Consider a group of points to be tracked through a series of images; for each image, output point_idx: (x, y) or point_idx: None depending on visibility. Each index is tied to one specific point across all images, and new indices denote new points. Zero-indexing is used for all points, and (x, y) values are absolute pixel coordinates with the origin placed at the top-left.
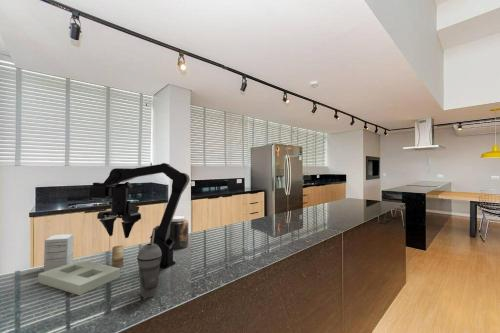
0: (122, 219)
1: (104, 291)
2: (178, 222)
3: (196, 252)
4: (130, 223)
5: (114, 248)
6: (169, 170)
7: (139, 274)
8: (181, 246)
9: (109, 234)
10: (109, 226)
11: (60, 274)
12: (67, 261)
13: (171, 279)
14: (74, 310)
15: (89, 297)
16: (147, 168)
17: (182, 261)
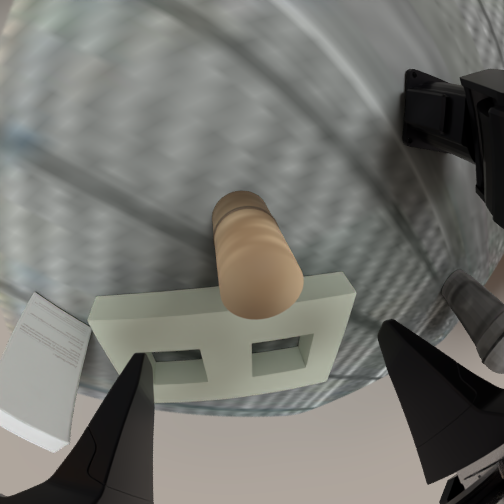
0: (445, 496)
1: (361, 330)
2: None
3: None
4: (481, 423)
5: (269, 316)
6: None
7: (466, 330)
8: None
9: (153, 388)
10: (140, 468)
11: (199, 390)
12: (81, 351)
13: (478, 211)
14: (355, 372)
15: (348, 353)
16: None
17: (462, 65)
